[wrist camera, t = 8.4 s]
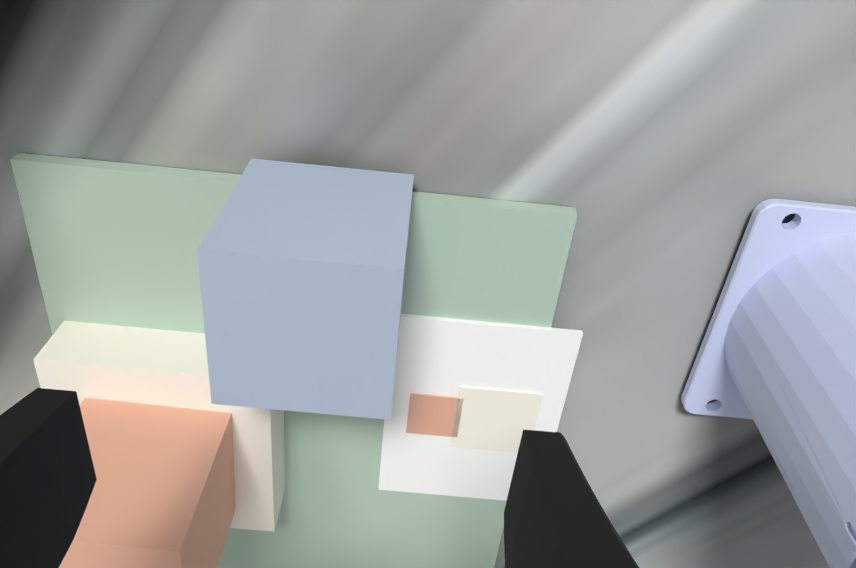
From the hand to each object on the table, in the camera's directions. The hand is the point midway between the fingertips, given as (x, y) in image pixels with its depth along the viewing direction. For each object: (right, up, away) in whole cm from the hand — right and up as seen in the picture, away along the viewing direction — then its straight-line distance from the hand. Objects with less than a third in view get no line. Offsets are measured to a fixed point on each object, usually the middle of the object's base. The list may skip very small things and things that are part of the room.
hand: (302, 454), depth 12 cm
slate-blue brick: (-1, +4, +9) cm, 10 cm away
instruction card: (+4, -2, +13) cm, 13 cm away
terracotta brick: (-7, -3, +11) cm, 13 cm away
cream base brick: (-6, -2, +13) cm, 15 cm away
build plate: (-3, -4, +15) cm, 16 cm away
